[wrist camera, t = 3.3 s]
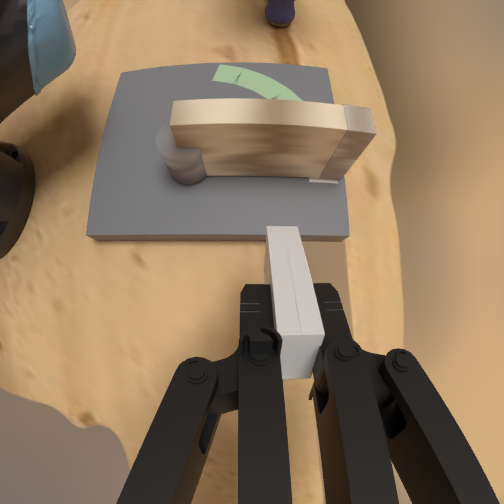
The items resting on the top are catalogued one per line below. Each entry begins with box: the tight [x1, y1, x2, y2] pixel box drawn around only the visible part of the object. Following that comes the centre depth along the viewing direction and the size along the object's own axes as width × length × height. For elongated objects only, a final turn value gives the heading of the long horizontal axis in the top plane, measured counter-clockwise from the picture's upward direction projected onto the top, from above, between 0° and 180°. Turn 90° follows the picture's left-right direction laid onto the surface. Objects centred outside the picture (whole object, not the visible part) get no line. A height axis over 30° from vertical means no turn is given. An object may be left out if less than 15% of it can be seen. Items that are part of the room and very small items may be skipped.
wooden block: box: [156, 98, 376, 185], centre depth 21 cm, size 15×4×8 cm, turn 90°
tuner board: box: [86, 63, 349, 242], centre depth 27 cm, size 23×19×2 cm
